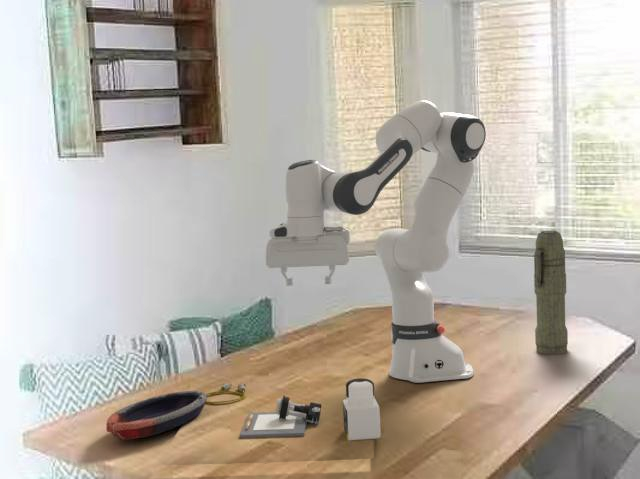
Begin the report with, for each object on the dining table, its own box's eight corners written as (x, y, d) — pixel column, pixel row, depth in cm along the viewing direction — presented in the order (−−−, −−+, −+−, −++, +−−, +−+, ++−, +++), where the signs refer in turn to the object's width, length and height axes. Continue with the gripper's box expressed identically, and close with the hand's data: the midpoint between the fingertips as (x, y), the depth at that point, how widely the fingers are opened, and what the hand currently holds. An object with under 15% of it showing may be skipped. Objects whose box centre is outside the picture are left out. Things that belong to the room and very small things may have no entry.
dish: (225, 411, 216) (224, 391, 216) (131, 450, 191) (129, 428, 191) (179, 403, 225) (177, 384, 225) (83, 439, 200) (81, 418, 200)
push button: (320, 416, 199) (276, 407, 199) (316, 434, 202) (272, 426, 202) (322, 398, 205) (280, 390, 205) (318, 416, 208) (276, 408, 208)
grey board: (308, 413, 210) (308, 407, 210) (304, 435, 195) (303, 429, 194) (249, 415, 211) (249, 409, 211) (240, 438, 195) (239, 431, 195)
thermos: (576, 350, 258) (574, 229, 254) (554, 359, 249) (551, 234, 246) (549, 346, 264) (546, 228, 260) (527, 354, 256) (524, 233, 252)
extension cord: (265, 393, 232) (265, 385, 231) (224, 409, 219) (223, 401, 219) (230, 387, 239) (230, 379, 239) (188, 402, 226) (188, 394, 226)
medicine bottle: (344, 430, 197) (341, 377, 196) (376, 428, 197) (373, 375, 196) (347, 441, 190) (345, 386, 188) (381, 438, 190) (378, 383, 189)
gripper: (349, 224, 218) (351, 280, 220) (265, 228, 219) (269, 284, 221) (348, 227, 212) (351, 284, 213) (263, 231, 213) (266, 288, 215)
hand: (308, 284), depth 217 cm, fingers open, 8 cm apart
